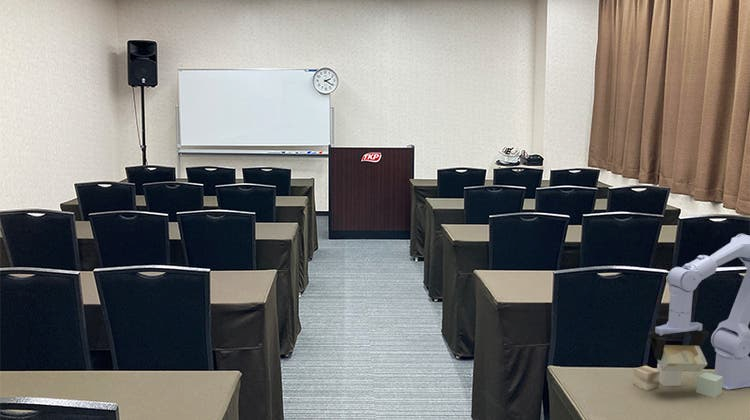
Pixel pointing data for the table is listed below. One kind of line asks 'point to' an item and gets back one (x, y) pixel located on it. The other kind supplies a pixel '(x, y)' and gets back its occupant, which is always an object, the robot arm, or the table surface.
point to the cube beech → (646, 377)
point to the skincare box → (682, 358)
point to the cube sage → (709, 384)
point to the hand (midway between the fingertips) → (676, 356)
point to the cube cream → (669, 377)
